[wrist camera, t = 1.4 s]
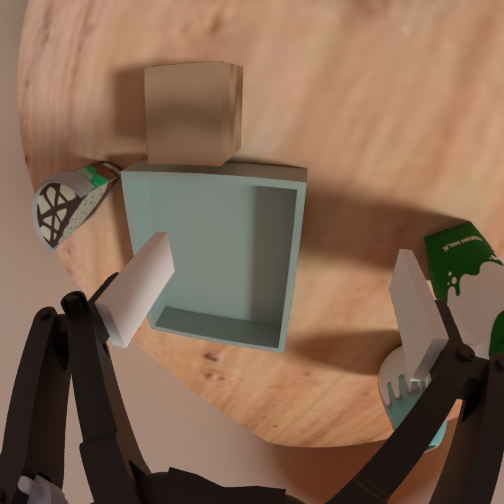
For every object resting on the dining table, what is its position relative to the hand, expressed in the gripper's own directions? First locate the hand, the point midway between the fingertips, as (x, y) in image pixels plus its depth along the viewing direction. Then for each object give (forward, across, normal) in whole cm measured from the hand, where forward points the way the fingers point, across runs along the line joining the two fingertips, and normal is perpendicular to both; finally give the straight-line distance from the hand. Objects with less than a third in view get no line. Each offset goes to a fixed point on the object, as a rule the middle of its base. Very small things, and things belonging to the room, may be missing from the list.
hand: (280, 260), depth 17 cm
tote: (+18, -9, -11) cm, 23 cm away
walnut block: (+18, -9, +7) cm, 22 cm away
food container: (+18, -27, -1) cm, 32 cm away
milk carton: (+18, +21, -9) cm, 29 cm away
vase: (+18, +21, -29) cm, 40 cm away
